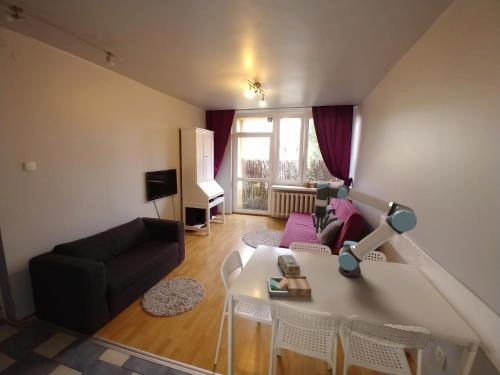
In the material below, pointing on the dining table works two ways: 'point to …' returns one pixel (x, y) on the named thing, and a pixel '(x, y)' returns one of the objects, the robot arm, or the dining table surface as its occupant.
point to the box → (274, 292)
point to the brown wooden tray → (298, 286)
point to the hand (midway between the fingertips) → (318, 237)
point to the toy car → (289, 265)
